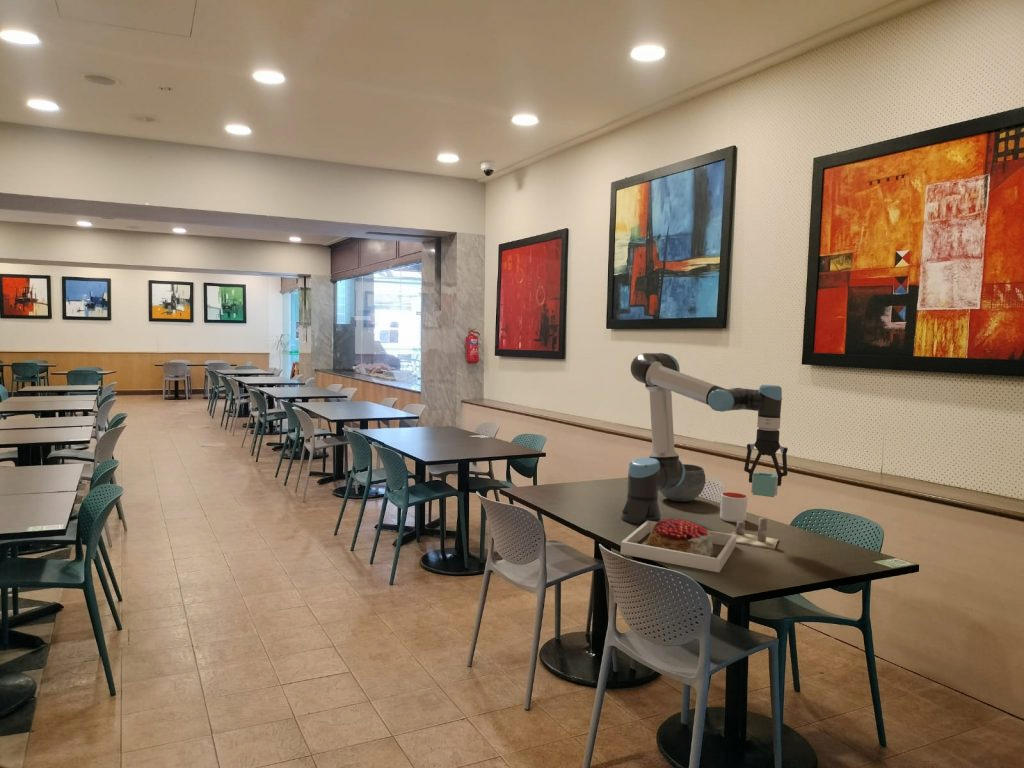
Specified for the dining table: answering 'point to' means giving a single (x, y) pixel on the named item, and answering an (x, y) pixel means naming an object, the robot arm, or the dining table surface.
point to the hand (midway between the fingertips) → (764, 493)
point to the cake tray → (678, 557)
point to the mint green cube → (764, 484)
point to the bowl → (687, 485)
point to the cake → (680, 537)
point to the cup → (733, 507)
